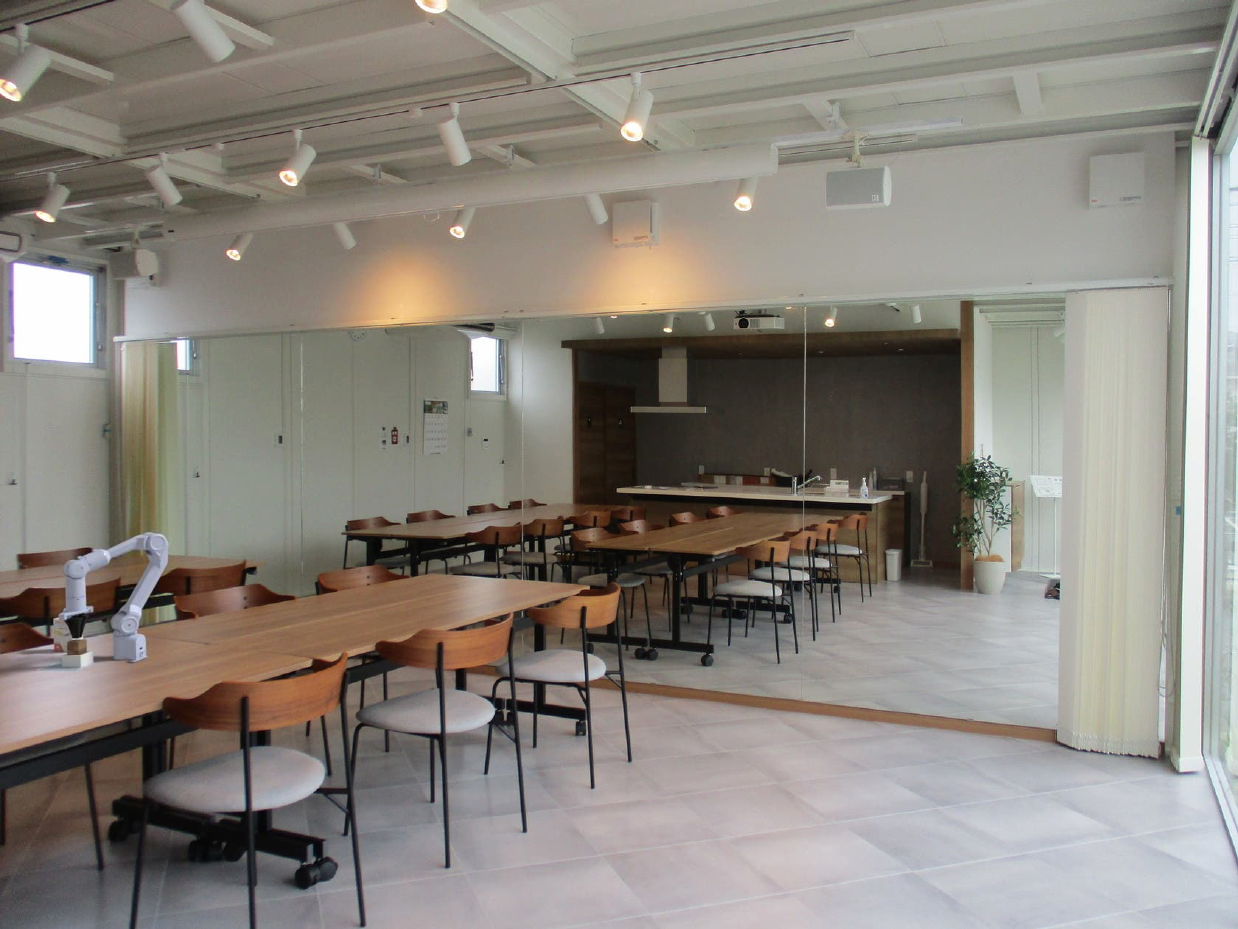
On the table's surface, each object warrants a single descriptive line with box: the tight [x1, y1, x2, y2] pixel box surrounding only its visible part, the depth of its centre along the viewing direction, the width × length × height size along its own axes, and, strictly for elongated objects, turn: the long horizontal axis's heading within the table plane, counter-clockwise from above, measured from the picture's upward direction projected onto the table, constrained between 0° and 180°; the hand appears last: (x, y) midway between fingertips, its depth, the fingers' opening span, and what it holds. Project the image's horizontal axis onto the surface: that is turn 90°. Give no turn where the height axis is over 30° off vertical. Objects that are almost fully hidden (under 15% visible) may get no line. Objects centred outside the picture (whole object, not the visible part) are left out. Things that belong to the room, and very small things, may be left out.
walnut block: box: [66, 638, 88, 655], centre depth 306 cm, size 4×4×5 cm
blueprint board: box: [34, 650, 98, 672], centre depth 304 cm, size 14×11×5 cm
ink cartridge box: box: [53, 607, 84, 653], centre depth 332 cm, size 9×5×15 cm, turn 74°
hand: (77, 638), depth 306 cm, fingers closed
